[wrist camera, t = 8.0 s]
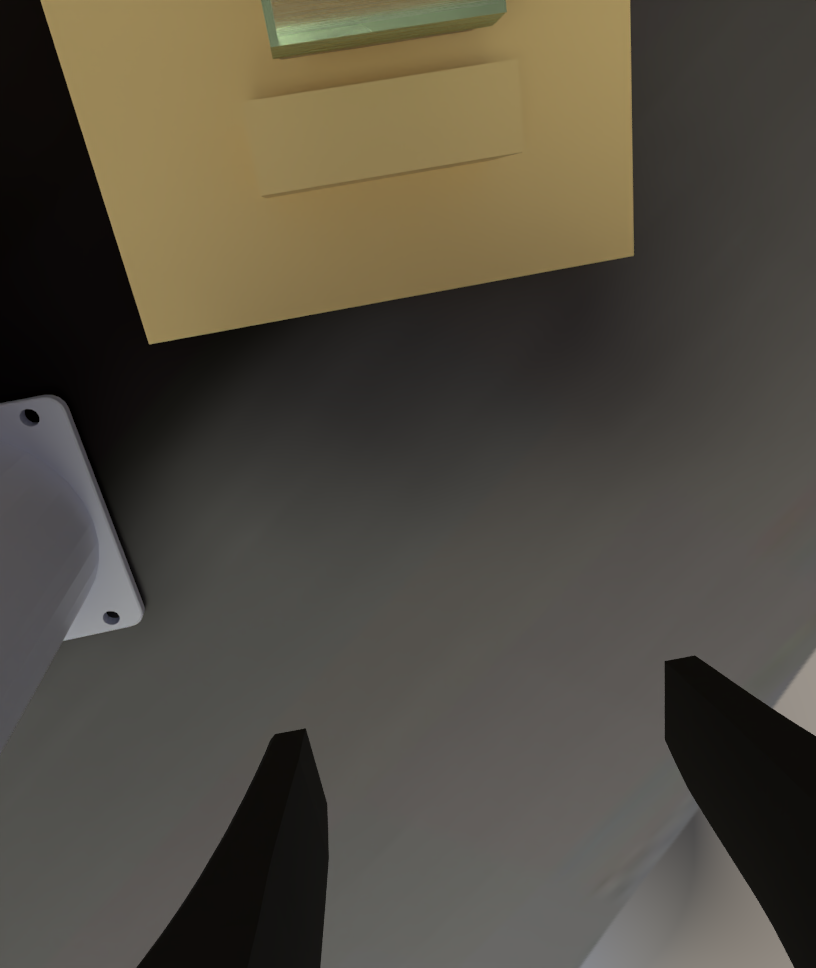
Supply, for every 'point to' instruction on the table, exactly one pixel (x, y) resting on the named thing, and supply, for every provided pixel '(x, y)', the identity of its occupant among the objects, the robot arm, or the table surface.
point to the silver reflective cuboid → (368, 22)
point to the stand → (346, 155)
